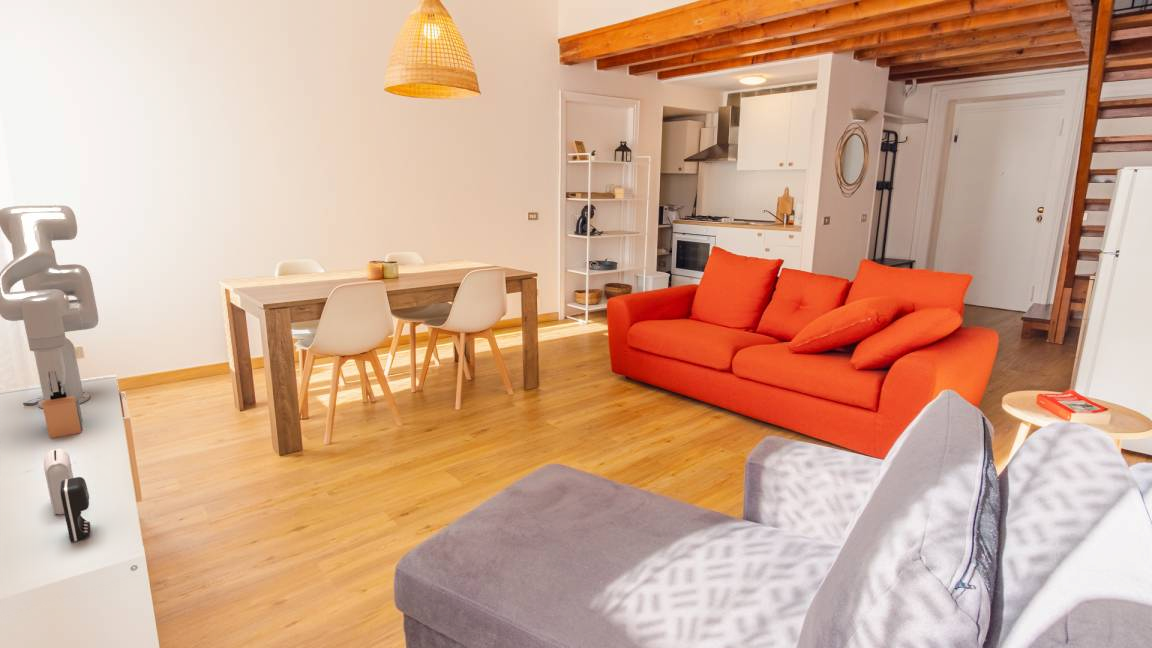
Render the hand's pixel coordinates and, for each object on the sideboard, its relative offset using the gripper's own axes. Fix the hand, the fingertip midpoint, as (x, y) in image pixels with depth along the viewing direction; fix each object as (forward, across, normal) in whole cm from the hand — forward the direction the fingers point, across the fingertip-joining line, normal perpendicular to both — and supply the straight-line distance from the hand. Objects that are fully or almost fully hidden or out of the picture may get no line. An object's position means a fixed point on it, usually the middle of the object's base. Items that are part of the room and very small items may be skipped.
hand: (60, 408), depth 166 cm
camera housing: (+9, -5, 0) cm, 10 cm away
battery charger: (+9, +59, +4) cm, 59 cm away
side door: (+8, 0, 0) cm, 8 cm away
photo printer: (+9, +43, 0) cm, 44 cm away
